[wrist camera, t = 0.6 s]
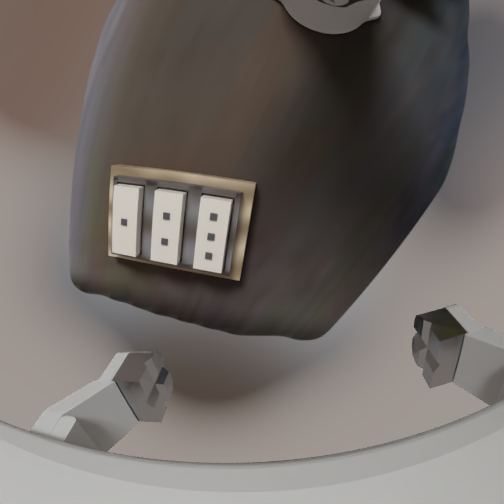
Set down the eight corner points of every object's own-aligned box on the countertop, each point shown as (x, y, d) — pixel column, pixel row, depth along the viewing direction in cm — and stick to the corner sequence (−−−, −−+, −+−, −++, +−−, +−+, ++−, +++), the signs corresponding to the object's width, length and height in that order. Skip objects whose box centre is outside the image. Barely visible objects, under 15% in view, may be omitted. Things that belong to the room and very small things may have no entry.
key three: (203, 194, 44) (200, 197, 42) (233, 199, 44) (231, 202, 42) (195, 263, 48) (192, 268, 46) (223, 268, 48) (220, 274, 46)
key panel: (118, 164, 47) (105, 166, 43) (256, 182, 47) (254, 186, 43) (114, 250, 53) (103, 259, 49) (241, 274, 53) (238, 286, 49)
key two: (159, 188, 44) (154, 190, 42) (186, 192, 44) (182, 194, 42) (154, 255, 48) (150, 260, 46) (180, 260, 48) (176, 265, 46)
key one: (119, 183, 44) (113, 185, 42) (144, 186, 44) (138, 188, 42) (117, 248, 48) (111, 252, 46) (140, 252, 48) (135, 257, 46)
